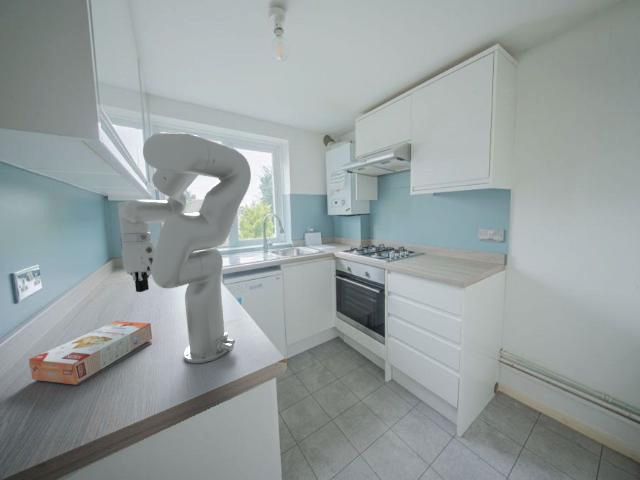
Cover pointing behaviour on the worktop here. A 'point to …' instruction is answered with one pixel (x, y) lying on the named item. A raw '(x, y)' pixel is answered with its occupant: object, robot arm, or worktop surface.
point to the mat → (118, 360)
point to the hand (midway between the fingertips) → (142, 290)
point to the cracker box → (89, 352)
